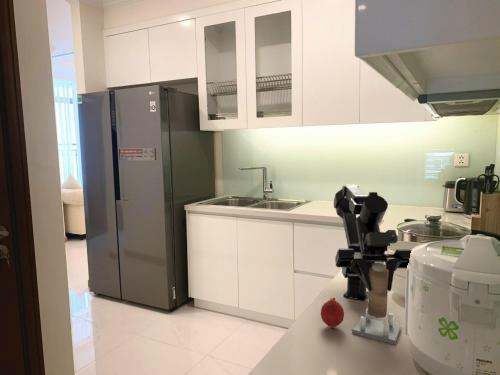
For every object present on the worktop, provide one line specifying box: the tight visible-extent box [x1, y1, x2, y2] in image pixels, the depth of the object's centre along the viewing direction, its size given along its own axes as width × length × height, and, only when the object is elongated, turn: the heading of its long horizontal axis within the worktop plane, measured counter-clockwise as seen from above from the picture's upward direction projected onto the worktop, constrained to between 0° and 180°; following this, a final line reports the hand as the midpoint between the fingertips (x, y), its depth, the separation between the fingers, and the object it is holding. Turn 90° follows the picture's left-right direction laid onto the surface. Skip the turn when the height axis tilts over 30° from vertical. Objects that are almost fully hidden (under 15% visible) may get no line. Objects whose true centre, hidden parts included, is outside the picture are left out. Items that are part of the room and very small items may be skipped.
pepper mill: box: [367, 262, 389, 319], centre depth 88 cm, size 4×4×12 cm
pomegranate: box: [320, 296, 345, 329], centre depth 90 cm, size 6×6×8 cm
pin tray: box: [351, 307, 402, 345], centre depth 88 cm, size 8×10×4 cm
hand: (379, 290), depth 86 cm, fingers closed on pepper mill, 4 cm apart
